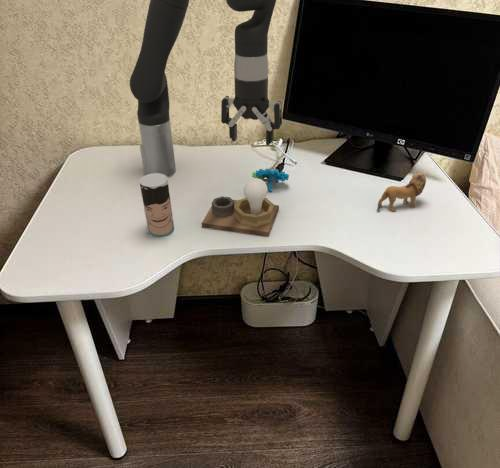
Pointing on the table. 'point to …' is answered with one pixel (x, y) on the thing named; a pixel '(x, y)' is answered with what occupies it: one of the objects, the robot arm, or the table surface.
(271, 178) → the gear
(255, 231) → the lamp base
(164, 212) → the face-printed can
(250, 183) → the lightbulb
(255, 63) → the robot arm
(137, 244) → the table surface
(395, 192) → the lion figurine
